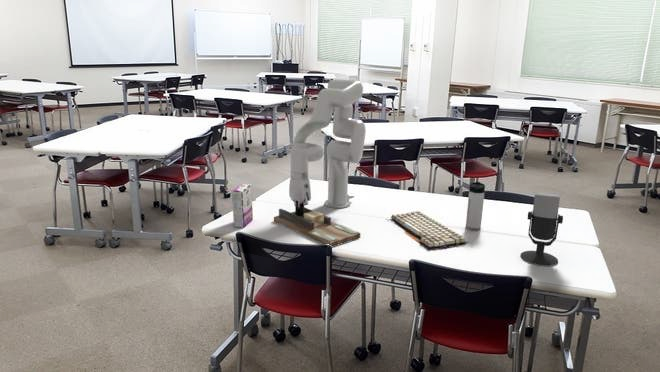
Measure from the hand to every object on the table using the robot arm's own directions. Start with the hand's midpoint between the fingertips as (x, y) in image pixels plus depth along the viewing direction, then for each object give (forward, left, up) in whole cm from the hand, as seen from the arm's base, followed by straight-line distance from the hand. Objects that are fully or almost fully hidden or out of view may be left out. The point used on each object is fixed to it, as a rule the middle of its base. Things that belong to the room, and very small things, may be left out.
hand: (299, 215), depth 216 cm
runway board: (0, +11, -3) cm, 11 cm away
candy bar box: (+20, -14, -3) cm, 25 cm away
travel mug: (-54, +53, -3) cm, 76 cm away
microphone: (-45, +87, -3) cm, 98 cm away
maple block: (0, +10, -1) cm, 10 cm away
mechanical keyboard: (-35, +42, -4) cm, 54 cm away
